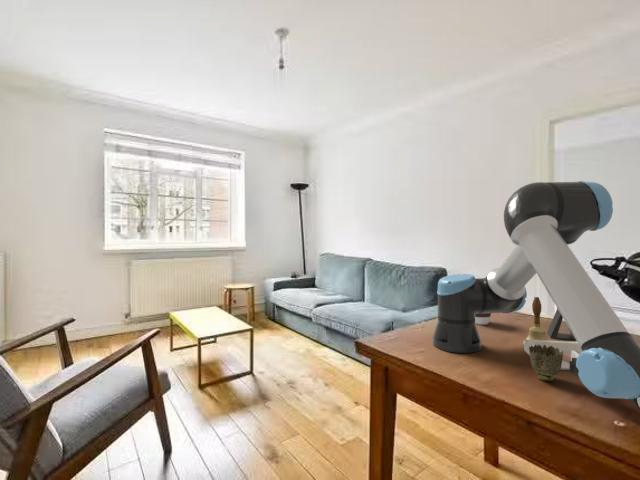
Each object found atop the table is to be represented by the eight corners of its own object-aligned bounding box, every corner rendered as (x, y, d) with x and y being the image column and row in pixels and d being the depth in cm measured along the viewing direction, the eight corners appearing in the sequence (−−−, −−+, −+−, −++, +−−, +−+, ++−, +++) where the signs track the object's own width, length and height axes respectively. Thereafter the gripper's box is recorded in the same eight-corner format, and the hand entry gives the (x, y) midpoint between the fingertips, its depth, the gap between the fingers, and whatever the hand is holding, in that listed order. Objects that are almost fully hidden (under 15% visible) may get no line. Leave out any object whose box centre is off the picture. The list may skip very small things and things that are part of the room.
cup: (523, 372, 94) (523, 343, 93) (552, 373, 93) (552, 344, 92) (537, 385, 86) (538, 354, 86) (569, 386, 85) (569, 354, 85)
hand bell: (521, 346, 113) (521, 298, 113) (524, 339, 120) (524, 293, 119) (551, 351, 108) (551, 301, 108) (553, 343, 115) (553, 296, 114)
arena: (543, 368, 96) (543, 356, 96) (524, 350, 110) (524, 339, 109) (609, 372, 93) (609, 359, 92) (581, 353, 106) (581, 341, 106)
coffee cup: (480, 328, 134) (480, 297, 134) (459, 321, 144) (459, 292, 144) (501, 324, 138) (501, 294, 138) (479, 317, 148) (479, 290, 148)
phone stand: (576, 335, 122) (577, 302, 122) (581, 341, 117) (581, 306, 116) (546, 333, 126) (546, 300, 126) (550, 338, 121) (550, 304, 120)
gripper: (582, 409, 70) (547, 367, 90) (743, 428, 63) (666, 378, 83) (582, 373, 70) (547, 339, 90) (745, 387, 62) (666, 347, 83)
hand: (604, 358), depth 87 cm, fingers open, 13 cm apart
